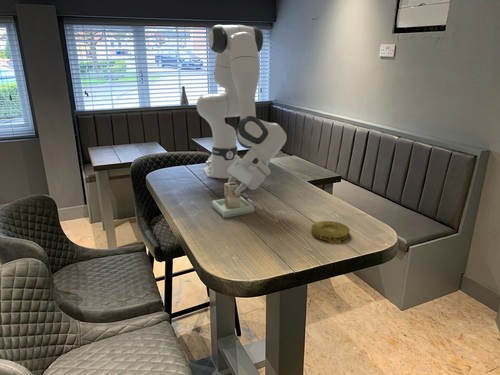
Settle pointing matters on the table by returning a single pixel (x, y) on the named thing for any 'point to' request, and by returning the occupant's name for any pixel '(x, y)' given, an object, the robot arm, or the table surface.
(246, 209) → the tray
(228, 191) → the bored block
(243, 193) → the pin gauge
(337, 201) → the table surface
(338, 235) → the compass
